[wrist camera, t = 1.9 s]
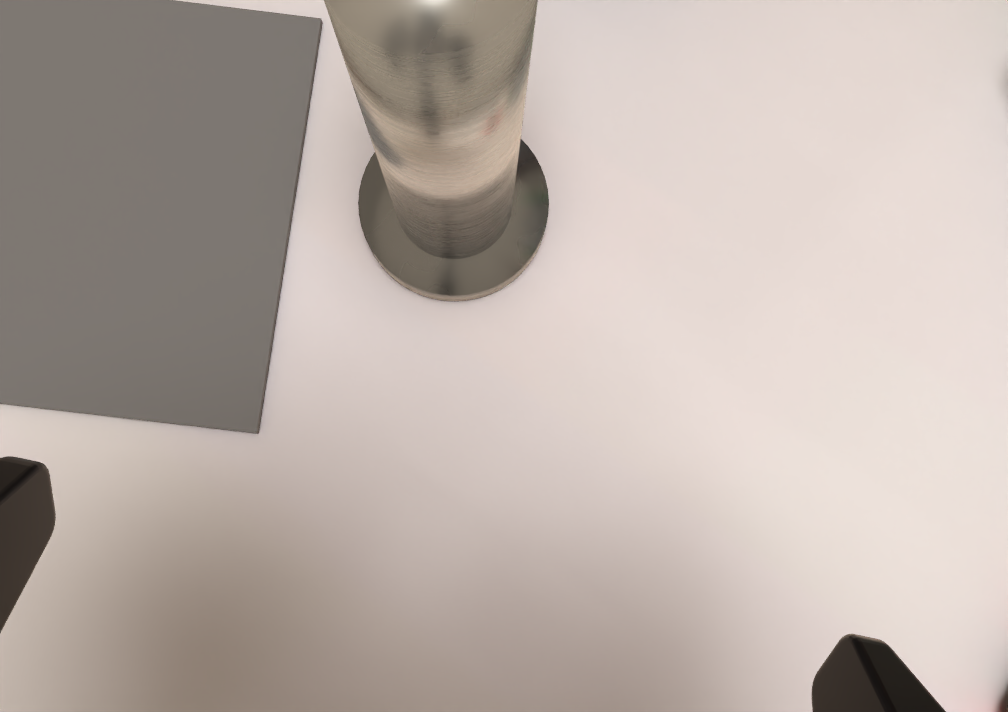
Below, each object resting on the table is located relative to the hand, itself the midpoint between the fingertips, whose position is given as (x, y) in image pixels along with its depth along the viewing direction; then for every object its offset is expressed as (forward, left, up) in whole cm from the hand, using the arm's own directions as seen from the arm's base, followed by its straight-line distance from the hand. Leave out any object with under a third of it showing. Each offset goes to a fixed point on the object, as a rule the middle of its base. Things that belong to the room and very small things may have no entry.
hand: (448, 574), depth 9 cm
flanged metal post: (+4, +7, -13) cm, 15 cm away
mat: (-5, +13, -13) cm, 19 cm away
